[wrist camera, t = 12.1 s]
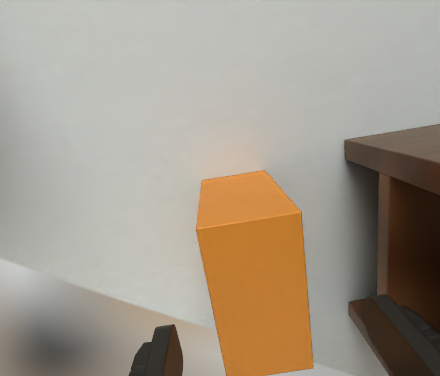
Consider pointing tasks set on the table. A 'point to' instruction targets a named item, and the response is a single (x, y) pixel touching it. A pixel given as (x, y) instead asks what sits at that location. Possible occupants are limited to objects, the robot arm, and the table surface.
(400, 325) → the robot arm
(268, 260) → the packet
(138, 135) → the table surface
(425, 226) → the wooden shelf
